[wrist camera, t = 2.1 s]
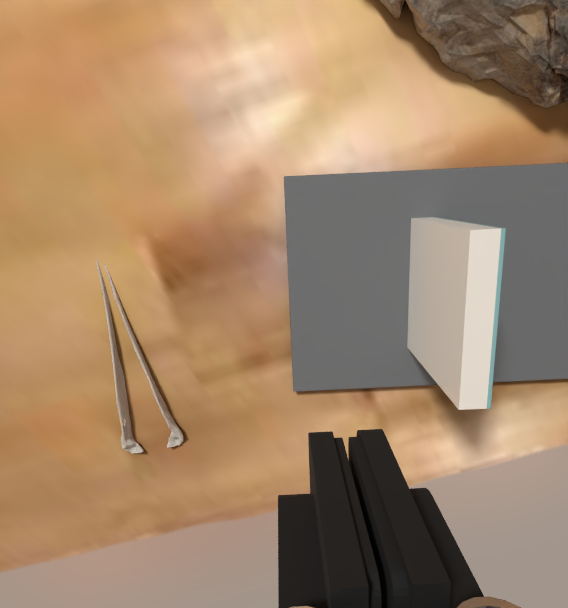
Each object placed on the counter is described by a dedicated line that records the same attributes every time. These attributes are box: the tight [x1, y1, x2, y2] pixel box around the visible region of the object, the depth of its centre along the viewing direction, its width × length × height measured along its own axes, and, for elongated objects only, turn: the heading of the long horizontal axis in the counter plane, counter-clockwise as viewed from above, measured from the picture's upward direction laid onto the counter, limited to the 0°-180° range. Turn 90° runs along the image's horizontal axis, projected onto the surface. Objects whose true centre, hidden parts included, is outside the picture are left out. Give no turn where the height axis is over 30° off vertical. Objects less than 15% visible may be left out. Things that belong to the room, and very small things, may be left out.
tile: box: [407, 217, 506, 410], centre depth 25 cm, size 2×9×9 cm, turn 3°
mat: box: [284, 163, 568, 391], centre depth 29 cm, size 22×15×1 cm
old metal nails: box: [96, 258, 184, 454], centre depth 31 cm, size 17×5×2 cm, turn 11°
